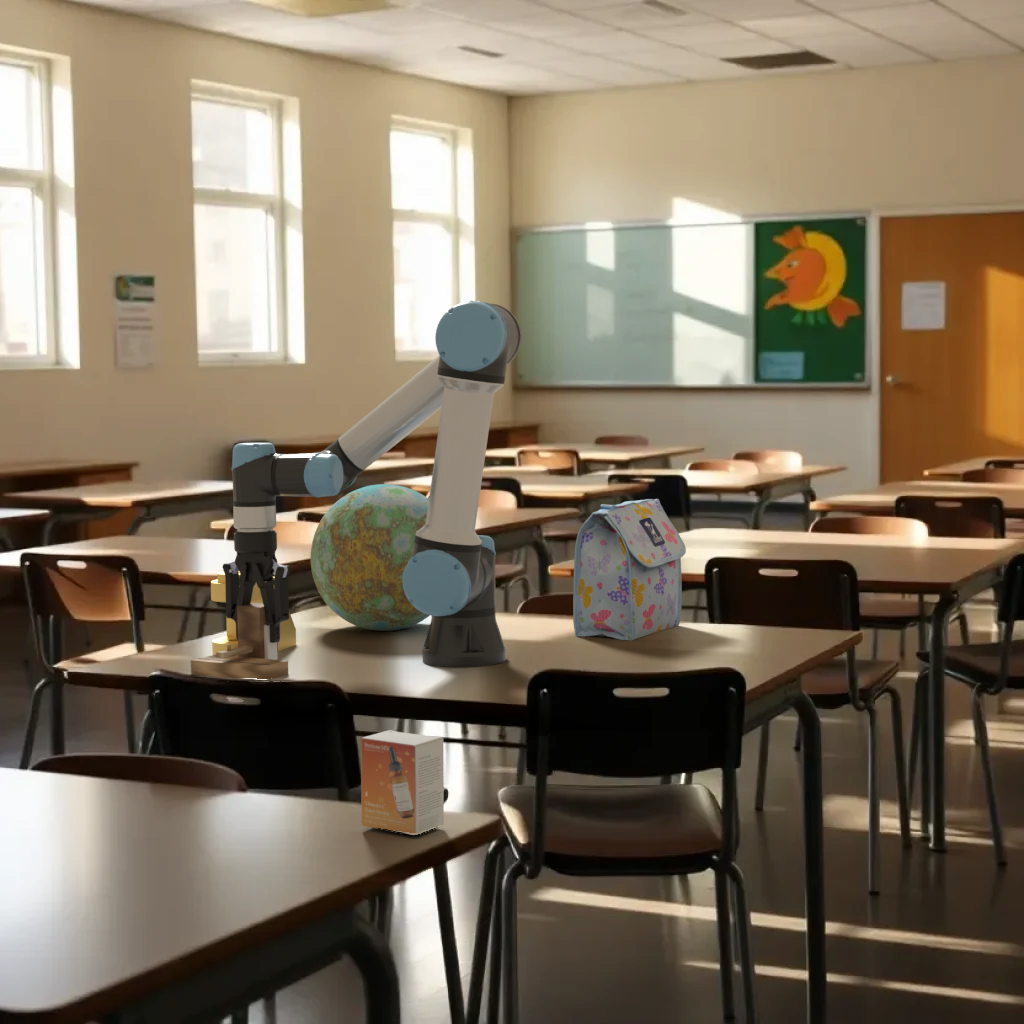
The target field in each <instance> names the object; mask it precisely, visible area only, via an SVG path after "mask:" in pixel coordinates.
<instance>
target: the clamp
mask: <svg viewBox="0 0 1024 1024" xmlns="http://www.w3.org/2000/svg"><path fill="white" fill-rule="evenodd" d="M238 573H239V578H240V571H238ZM216 574H217V575H216V576H217V578H216V579H213V580H210V597H211V598H210V599H211V602H215V603H218V602H219V603H226V585H225V574H224V571H219V572H217V573H216ZM273 578H275V576H273ZM266 582H267V581H266ZM239 588H240V585H239ZM251 603H263V600H262V596H261V591H260V588H258V586H257V582H256V584H255V585H254V587H253V592H252V598H251ZM251 603H250V604H251ZM225 618H226V635H225V636H221V637H218V638H216V639H212V642H211V644H212V648H211V649H212V655H216V652H220V651H224V650H227V645H231V649H233V648H238V640H237V638H236V623H235V621H234V620H233V619H231V618H227V617H226V616H225ZM296 629H297V628H296V627H295V623H294V620H293V617H292V615H291V612H290V611H289V619H288V620H286V621H283V622H281V623H280V641H279V642H278V652H281V651H282V650H286V649H288V648H289V649H290V648H292V647H294V646H296V645H297V630H296ZM237 656H238V655H237Z"/></svg>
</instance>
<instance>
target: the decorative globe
mask: <svg viewBox="0 0 1024 1024" xmlns="http://www.w3.org/2000/svg"><path fill="white" fill-rule="evenodd" d="M428 504H429V497H426V496H425V495H424V494H422V493H421V492H418V491H416V490H415V489H412V488H409V487H406V486H401V485H397V484H390V483H389V484H388V483H383V484H382V483H380V484H379V483H378V484H372V485H366V486H364V487H363V486H362V487H360V488H358V489H355V490H353V491H351V492H348V493H347V494H346V495H344V496H342V497H341V498H339V500H337V501H336V502H335V503H333V504H332V505H331V506H330V508H329V509H327V510H326V512H325V513H324V515H323V516H322V518H321V520H320V521H319V523H318V524H317V527H316V530H315V531H314V535H313V538H312V542H311V543H312V544H311V548H310V569H311V573H312V578H313V581H314V584H315V588H316V589H317V591H318V593H319V594H320V596H321V598H322V600H323V601H324V602H325V604H326V605H327V606H328V607H329V608H330V609H331V610H332V611H333V613H335V614H336V615H337V616H339V617H340V618H341V619H342V620H343V621H346V622H347V623H349V624H352V625H354V626H355V627H358V628H361V629H364V630H369V631H373V630H374V631H373V632H375V631H376V632H393V630H395V631H400V629H401V630H404V629H407V628H410V627H413V626H415V625H417V624H419V623H421V622H422V621H424V620H426V619H427V618H428V617H430V616H431V615H427V614H424V613H422V612H420V611H419V610H417V609H416V608H415V607H414V606H413V605H412V604H411V603H410V601H409V600H408V599H407V597H406V595H405V592H404V589H403V573H404V570H405V567H406V565H407V564H408V561H409V560H410V559H411V558H412V556H413V548H414V542H415V535H416V532H417V531H418V530H419V529H421V528H422V527H423V526H424V525H425V524H426V518H427V511H428Z"/></svg>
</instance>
